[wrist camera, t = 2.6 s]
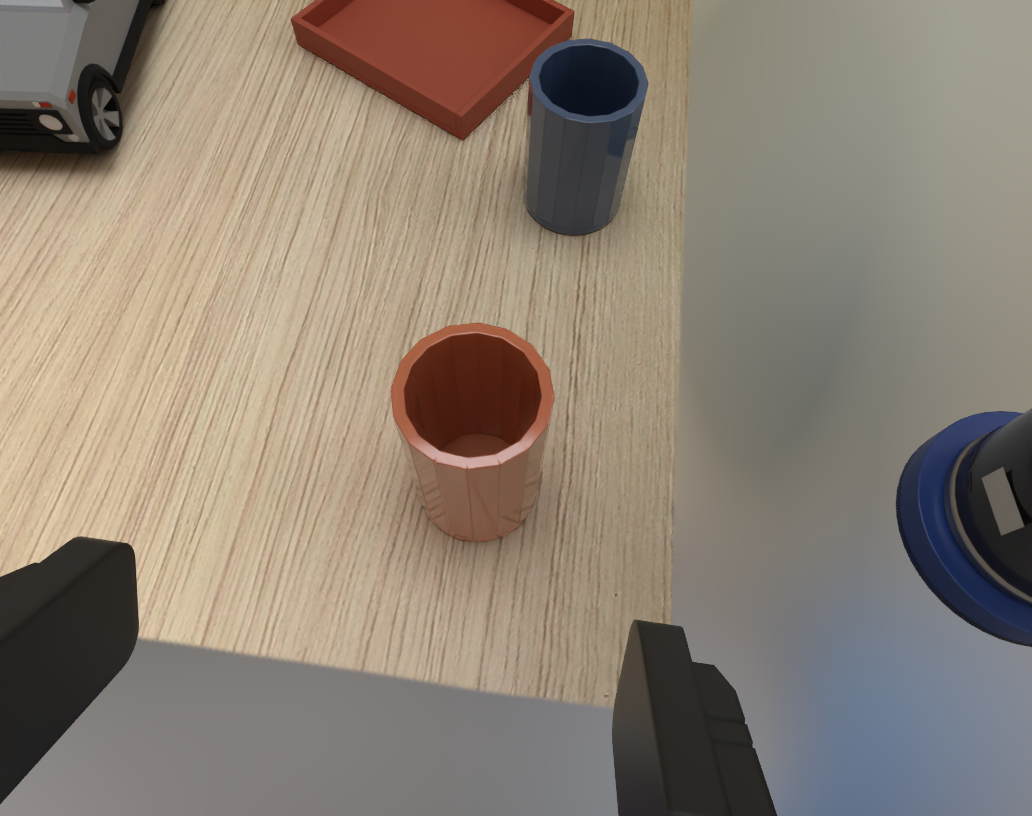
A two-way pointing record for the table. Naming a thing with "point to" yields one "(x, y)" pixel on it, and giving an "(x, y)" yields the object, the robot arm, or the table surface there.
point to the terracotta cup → (474, 427)
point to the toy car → (65, 72)
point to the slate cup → (580, 133)
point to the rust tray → (436, 49)
